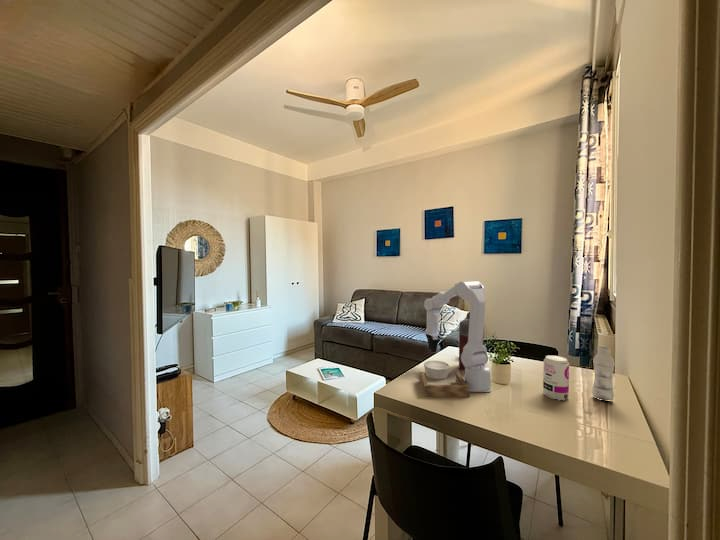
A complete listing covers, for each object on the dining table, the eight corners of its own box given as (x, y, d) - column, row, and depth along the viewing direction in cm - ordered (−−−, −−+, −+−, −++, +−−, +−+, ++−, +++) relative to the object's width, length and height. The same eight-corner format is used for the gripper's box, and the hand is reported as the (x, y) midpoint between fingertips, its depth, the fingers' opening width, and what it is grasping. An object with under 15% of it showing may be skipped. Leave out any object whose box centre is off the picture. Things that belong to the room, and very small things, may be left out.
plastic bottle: (610, 397, 115) (611, 346, 114) (616, 405, 109) (618, 351, 108) (589, 394, 118) (591, 344, 117) (594, 402, 112) (596, 348, 111)
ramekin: (434, 382, 130) (434, 370, 130) (419, 373, 140) (419, 362, 140) (454, 378, 135) (454, 366, 134) (438, 369, 145) (438, 359, 145)
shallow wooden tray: (459, 381, 130) (459, 372, 130) (469, 397, 116) (469, 386, 116) (419, 380, 132) (419, 371, 131) (424, 396, 117) (424, 385, 117)
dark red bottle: (484, 366, 149) (485, 310, 148) (477, 373, 140) (478, 313, 139) (466, 363, 154) (466, 308, 153) (458, 369, 145) (459, 311, 144)
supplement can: (570, 396, 117) (570, 357, 116) (566, 403, 111) (567, 363, 110) (545, 389, 122) (546, 353, 122) (540, 396, 116) (541, 358, 116)
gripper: (422, 319, 155) (422, 346, 155) (426, 326, 140) (426, 355, 141) (436, 320, 154) (435, 346, 155) (442, 326, 140) (441, 355, 140)
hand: (432, 350), depth 148 cm, fingers open, 5 cm apart
